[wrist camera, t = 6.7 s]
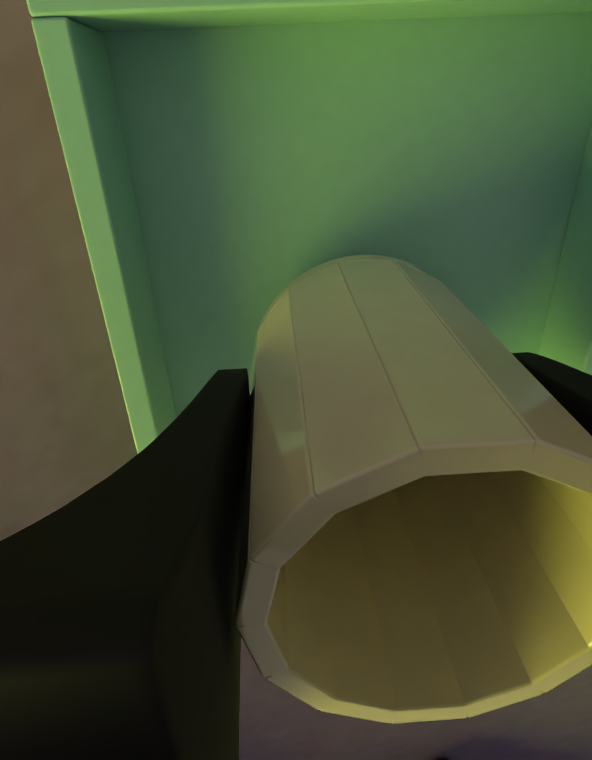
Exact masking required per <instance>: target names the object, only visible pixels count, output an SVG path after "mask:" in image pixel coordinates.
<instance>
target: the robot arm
mask: <svg viewBox="0 0 592 760" xmlns="http://www.w3.org/2000/svg"><path fill="white" fill-rule="evenodd" d="M512 354H513V355H514V357H515V358H516V359H517V360H518V361H519V362H520V363H521V364H522V365H523V366H524V367H525V368H526V369H527V370H528V371H529V372H530V373H531V374H532V375H533V376H534V377H535V378H536V379H537V380H538V381H539V382H540V383H541V384H542V385H543V386H544V387H545V388H546V389H547V390H548V391H549V393H550V394H551V395H552V396H553V397H554V398H555V399H556V400H557V401H558V402H559V403H560V404H561V405H562V406H563V407H564V408H565V409H566V410H567V411H568V412H569V413H570V414H571V415H572V416H573V417H574V418H575V419H576V420H577V421H578V422H579V423H580V424H581V425H582V426H583V427H584V429H585V430H586V431H587V432H588V433H589V434H590V435H591V436H592V375H590V374H587V373H585V372H583V371H580V370H578V369H575V368H573V367H570V366H568V365H565V364H563V363H560V362H558V361H555V360H553V359H550V358H547V357H544V356H541V355H538V354H534V353H531V352H520V353H512ZM249 404H250V391H249V380H248V370H247V368H240V369H223V370H218V371H217V372H216V373H215V374H214V375H213V376H212V377H211V378H210V380H209V381H208V382H207V383H206V384H205V386H204V387H203V388H202V389H201V390H200V392H199V393H198V394H197V395H196V396H195V398H194V399H193V400H192V401H191V402H190V403H189V404H188V406H187V407H186V408H185V409H184V410H183V411H182V412H181V413H180V414H179V416H178V417H177V418H176V419H175V420H174V421H173V422H172V423H171V424H170V425H169V426H168V427H167V428H166V429H165V430H164V431H163V432H162V433H161V434H160V435H159V436H158V437H157V438H156V439H155V440H154V441H153V442H151V443H150V444H149V445H148V446H147V447H146V448H145V449H143V450H142V451H141V452H140V453H139V454H137V455H136V456H135V457H134V458H132V459H131V460H130V461H129V462H127V463H126V464H125V465H123V466H122V467H121V468H120V469H118V470H117V471H116V472H114V473H113V474H112V475H110V476H109V477H108V478H106V479H105V480H103V481H102V482H100V483H98V484H97V485H95V486H94V487H92V488H91V489H89V490H88V491H86V492H85V493H83V494H82V495H80V496H79V497H77V498H76V499H74V500H73V501H71V502H70V503H68V504H67V505H65V506H63V507H62V508H60V509H58V510H57V511H55V512H53V513H51V514H50V515H48V516H46V517H44V518H43V519H41V520H39V521H37V522H36V523H34V524H32V525H30V526H28V527H26V528H25V529H23V530H21V531H19V532H17V533H15V534H13V535H11V536H10V537H8V538H6V539H4V540H2V541H0V760H239V704H240V651H241V635H240V634H239V632H238V630H237V628H236V623H235V613H236V598H237V582H238V566H239V550H240V534H241V518H242V502H243V486H244V470H245V454H246V442H247V432H248V421H249Z"/></svg>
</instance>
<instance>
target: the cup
mask: <svg viewBox="0 0 592 760" xmlns="http://www.w3.org/2000/svg"><path fill="white" fill-rule="evenodd" d="M235 623H236V628H237V630H238V632H239V634H240V635H241V637H242V639H243V641H244V643H245V645H246V647H247V648H248V650H249V652H250V654H251V656H252V658H253V660H254V661H255V663H256V665H257V667H258V669H259V671H260V673H261V674H262V676H263V677H265V679H266V680H268V681H269V682H271V683H273V684H274V685H276V686H278V687H280V688H281V689H283V690H285V691H286V692H288V693H290V694H291V695H293V696H295V697H296V698H298V699H300V700H301V701H303V702H305V703H307V704H308V705H310V706H312V707H313V708H315V709H317V710H320V711H323V712H328V713H334V714H339V715H344V716H350V717H355V718H361V719H366V720H372V721H377V722H382V723H390V722H391V723H392V724H395V723H408V722H422V721H435V720H448V719H461V718H466V717H472V716H476V715H479V714H482V713H485V712H488V711H492V710H495V709H498V708H501V707H504V706H507V705H511V704H514V703H517V702H520V701H523V700H527V699H530V698H533V697H536V696H539V695H542V694H543V693H546V692H548V691H550V690H551V689H553V688H555V687H556V686H558V685H560V684H561V683H563V682H564V681H566V680H568V679H569V678H571V677H573V676H574V675H576V674H577V673H579V672H581V671H582V670H584V669H585V668H587V667H589V666H590V665H592V436H591V435H590V434H589V433H588V432H587V431H586V430H585V429H584V427H583V426H582V425H581V424H580V423H579V422H578V421H577V420H576V419H575V418H574V417H573V416H572V415H571V414H570V413H569V412H568V411H567V410H566V409H565V408H564V407H563V406H562V405H561V404H560V403H559V402H558V401H557V400H556V399H555V398H554V397H553V396H552V395H551V394H550V393H549V391H548V390H547V389H546V388H545V387H544V386H543V385H542V384H541V383H540V382H539V381H538V380H537V379H536V378H535V377H534V376H533V375H532V374H531V373H530V372H529V371H528V370H527V369H526V368H525V367H524V366H523V365H522V364H521V363H520V362H519V361H518V360H517V359H516V358H515V357H514V355H513V354H512V353H511V352H510V351H509V350H508V349H507V348H506V347H505V346H504V345H503V344H502V343H501V342H500V341H499V340H498V339H497V338H496V337H495V336H494V335H493V334H492V333H491V332H490V331H489V330H488V329H487V328H486V327H485V326H484V325H483V324H482V323H481V322H480V321H479V320H478V318H477V317H476V316H475V315H474V314H473V313H472V312H471V311H470V310H469V309H468V308H467V307H466V306H465V305H464V304H463V303H462V302H461V301H460V300H459V299H458V298H457V297H456V296H455V295H454V294H453V293H452V292H451V291H450V290H449V289H448V288H447V287H446V286H445V285H444V284H443V282H441V281H440V280H439V279H437V278H435V277H433V276H432V275H430V274H429V273H427V272H426V271H424V270H423V269H421V268H420V267H418V266H416V265H413V264H411V263H409V262H407V261H404V260H400V259H397V258H394V257H389V256H382V255H354V256H346V257H342V258H338V259H334V260H331V261H328V262H325V263H323V264H320V265H318V266H316V267H314V268H312V269H310V270H308V271H306V272H305V273H303V274H302V275H300V276H299V277H297V278H296V279H295V280H293V281H292V282H291V283H290V284H289V285H288V286H286V287H285V288H284V289H283V290H282V291H281V292H280V293H279V295H278V296H277V297H276V298H275V299H274V301H273V302H272V303H271V305H270V306H269V308H268V310H267V311H266V313H265V314H264V316H263V319H262V321H261V323H260V326H259V328H258V331H257V335H256V339H255V345H254V352H253V362H252V368H251V375H250V404H249V421H248V432H247V442H246V454H245V470H244V486H243V502H242V518H241V534H240V550H239V566H238V582H237V598H236V613H235Z"/></svg>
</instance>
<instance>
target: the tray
mask: <svg viewBox="0 0 592 760" xmlns="http://www.w3.org/2000/svg"><path fill="white" fill-rule="evenodd" d="M26 1H27V5H28V9H29V13H30V14H31V16H32V17H35V18H33V19H32V21H31V23H32V27H33V31H34V35H35V39H36V43H37V47H38V51H39V55H40V59H41V63H42V67H43V71H44V75H45V79H46V84H47V88H48V92H49V96H50V100H51V104H52V108H53V112H54V116H55V120H56V124H57V128H58V132H59V136H60V140H61V144H62V148H63V153H64V157H65V161H66V165H67V169H68V173H69V177H70V181H71V185H72V189H73V193H74V197H75V201H76V205H77V209H78V213H79V218H80V222H81V226H82V230H83V234H84V238H85V242H86V246H87V250H88V254H89V258H90V262H91V266H92V270H93V274H94V278H95V282H96V287H97V291H98V295H99V299H100V303H101V307H102V311H103V315H104V319H105V323H106V327H107V331H108V335H109V339H110V343H111V347H112V351H113V356H114V360H115V364H116V368H117V372H118V376H119V380H120V384H121V388H122V392H123V396H124V400H125V404H126V408H127V412H128V416H129V420H130V425H131V429H132V433H133V437H134V441H135V445H136V449H137V453H138V454H139V453H140V452H141V451H142V450H143V449H145V448H146V447H147V446H148V445H149V444H150V443H151V442H153V441H154V440H155V439H156V438H157V437H158V436H159V435H160V434H161V433H162V432H163V431H164V430H165V429H166V428H167V427H168V426H169V425H170V424H171V423H172V422H173V421H174V420H175V419H176V418H177V417H178V416H179V414H180V413H181V412H182V411H183V410H184V409H185V408H186V407H187V406H188V404H189V403H190V402H191V401H192V400H193V399H194V398H195V396H196V395H197V394H198V393H199V392H200V390H201V389H202V388H203V387H204V386H205V384H206V383H207V382H208V381H209V380H210V378H211V377H212V376H213V375H214V374H215V373H216V372H217V371H218V370H223V369H240V368H247V370H248V380H249V391H250V375H251V368H252V362H253V352H254V345H255V339H256V335H257V331H258V328H259V326H260V323H261V321H262V319H263V316H264V314H265V313H266V311H267V310H268V308H269V306H270V305H271V303H272V302H273V301H274V299H275V298H276V297H277V296H278V295H279V293H280V292H281V291H282V290H283V289H284V288H285V287H286V286H288V285H289V284H290V283H291V282H292V281H293V280H295V279H296V278H297V277H299V276H300V275H302V274H303V273H305V272H306V271H308V270H310V269H312V268H314V267H316V266H318V265H320V264H323V263H325V262H328V261H331V260H334V259H338V258H342V257H346V256H354V255H382V256H389V257H394V258H397V259H400V260H404V261H407V262H409V263H411V264H413V265H416V266H418V267H420V268H421V269H423V270H424V271H426V272H427V273H429V274H430V275H432V276H433V277H435V278H437V279H439V280H440V281H441V282H443V284H444V285H445V286H446V287H447V288H448V289H449V290H450V291H451V292H452V293H453V294H454V295H455V296H456V297H457V298H458V299H459V300H460V301H461V302H462V303H463V304H464V305H465V306H466V307H467V308H468V309H469V310H470V311H471V312H472V313H473V314H474V315H475V316H476V317H477V318H478V320H479V321H480V322H481V323H482V324H483V325H484V326H485V327H486V328H487V329H488V330H489V331H490V332H491V333H492V334H493V335H494V336H495V337H496V338H497V339H498V340H499V341H500V342H501V343H502V344H503V345H504V346H505V347H506V348H507V349H508V350H509V351H510V352H511V353H520V352H531V353H534V354H538V355H541V356H544V357H547V358H550V359H553V360H555V361H558V362H560V363H563V364H565V365H568V366H570V367H573V368H575V369H578V370H580V371H583V372H585V373H587V374H590V375H592V0H26Z"/></svg>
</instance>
